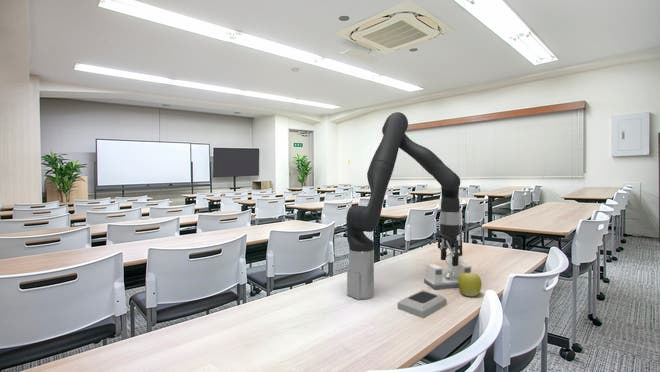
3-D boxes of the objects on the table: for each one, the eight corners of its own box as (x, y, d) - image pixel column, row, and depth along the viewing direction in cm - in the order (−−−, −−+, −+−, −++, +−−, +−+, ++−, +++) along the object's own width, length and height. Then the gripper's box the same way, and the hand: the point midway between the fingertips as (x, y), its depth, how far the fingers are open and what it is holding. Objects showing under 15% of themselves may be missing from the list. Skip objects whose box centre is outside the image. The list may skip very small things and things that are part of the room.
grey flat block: (397, 299, 107) (422, 287, 117) (397, 309, 108) (422, 297, 118) (422, 308, 100) (446, 295, 110) (422, 319, 100) (446, 305, 111)
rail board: (434, 289, 124) (434, 284, 124) (424, 282, 132) (424, 277, 132) (473, 286, 127) (473, 281, 127) (461, 279, 135) (461, 274, 135)
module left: (434, 284, 125) (434, 268, 124) (426, 278, 131) (426, 263, 131) (442, 283, 125) (443, 268, 125) (434, 277, 132) (434, 263, 132)
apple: (483, 298, 113) (474, 270, 114) (460, 300, 117) (452, 273, 119) (486, 291, 120) (478, 264, 121) (464, 293, 124) (457, 267, 125)
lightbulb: (442, 274, 134) (450, 249, 134) (457, 281, 131) (466, 255, 130) (437, 275, 129) (446, 249, 129) (453, 282, 125) (462, 255, 125)
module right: (463, 281, 127) (463, 266, 127) (454, 276, 134) (454, 262, 133) (471, 281, 128) (471, 266, 127) (461, 275, 134) (461, 261, 134)
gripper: (469, 225, 122) (468, 267, 123) (448, 219, 136) (448, 257, 137) (450, 226, 120) (450, 268, 121) (432, 220, 135) (431, 258, 135)
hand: (449, 262), depth 129 cm, fingers open, 8 cm apart
